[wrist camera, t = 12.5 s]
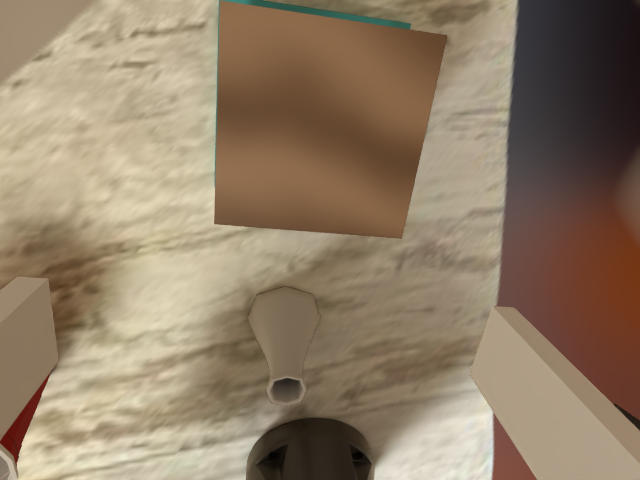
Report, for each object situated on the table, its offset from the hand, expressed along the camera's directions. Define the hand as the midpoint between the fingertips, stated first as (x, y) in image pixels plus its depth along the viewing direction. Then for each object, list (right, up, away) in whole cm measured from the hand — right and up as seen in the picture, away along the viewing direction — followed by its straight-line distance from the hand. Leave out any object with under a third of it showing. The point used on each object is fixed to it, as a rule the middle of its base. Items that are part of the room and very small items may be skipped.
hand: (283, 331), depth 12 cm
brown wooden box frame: (0, +13, +20) cm, 24 cm away
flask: (-3, -5, +28) cm, 29 cm away
